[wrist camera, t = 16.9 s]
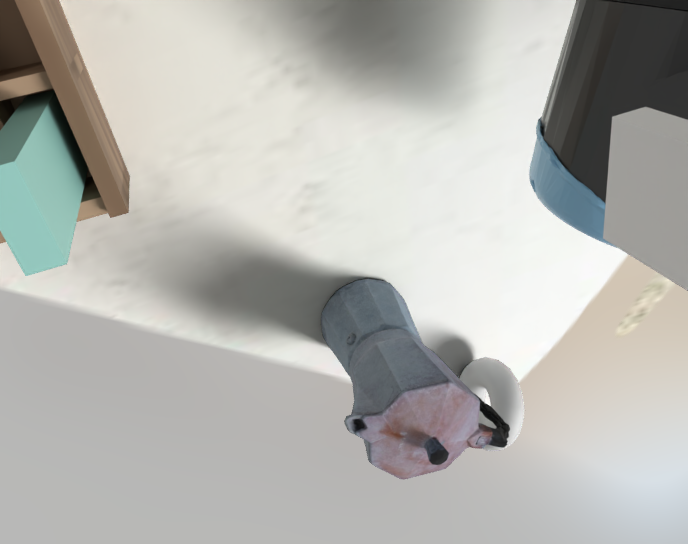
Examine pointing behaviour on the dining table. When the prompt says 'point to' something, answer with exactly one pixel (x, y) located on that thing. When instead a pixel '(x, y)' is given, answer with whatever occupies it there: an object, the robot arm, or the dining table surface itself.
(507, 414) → the donut
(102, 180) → the rack
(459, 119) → the dining table surface
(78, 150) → the panel
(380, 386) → the moka pot
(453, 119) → the dining table surface
